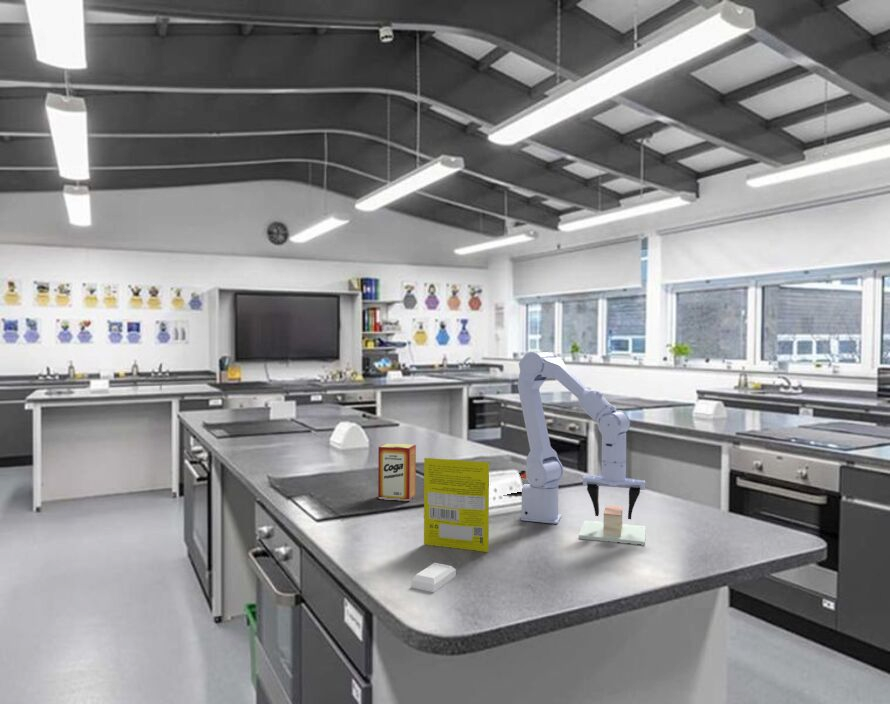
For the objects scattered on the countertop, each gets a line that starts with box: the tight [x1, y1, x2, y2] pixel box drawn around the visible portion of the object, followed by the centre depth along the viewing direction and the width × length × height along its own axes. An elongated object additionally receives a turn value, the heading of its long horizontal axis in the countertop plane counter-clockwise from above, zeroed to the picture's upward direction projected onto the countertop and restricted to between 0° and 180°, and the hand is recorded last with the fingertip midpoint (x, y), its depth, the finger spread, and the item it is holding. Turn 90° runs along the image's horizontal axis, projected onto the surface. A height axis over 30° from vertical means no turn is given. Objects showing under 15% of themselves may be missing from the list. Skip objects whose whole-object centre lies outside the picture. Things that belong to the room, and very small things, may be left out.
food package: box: [423, 457, 490, 553], centre depth 141 cm, size 15×1×20 cm, turn 71°
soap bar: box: [410, 562, 457, 593], centre depth 121 cm, size 5×9×3 cm, turn 152°
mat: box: [578, 520, 647, 546], centre depth 152 cm, size 15×13×1 cm
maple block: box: [603, 505, 623, 536], centre depth 152 cm, size 8×4×5 cm, turn 162°
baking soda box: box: [377, 443, 417, 499], centre depth 186 cm, size 10×6×16 cm
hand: (613, 516), depth 152 cm, fingers open, 7 cm apart
